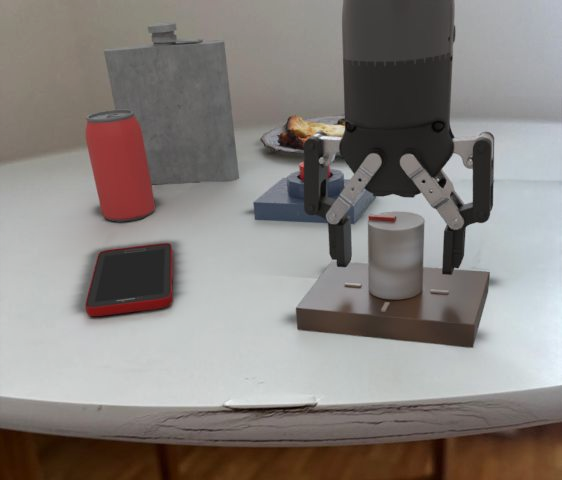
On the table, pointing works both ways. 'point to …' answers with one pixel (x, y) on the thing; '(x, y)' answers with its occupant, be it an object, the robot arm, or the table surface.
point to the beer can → (119, 165)
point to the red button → (301, 171)
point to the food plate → (302, 132)
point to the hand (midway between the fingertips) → (395, 267)
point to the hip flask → (178, 105)
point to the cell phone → (131, 280)
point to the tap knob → (395, 254)
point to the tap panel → (396, 307)
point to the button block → (290, 200)
